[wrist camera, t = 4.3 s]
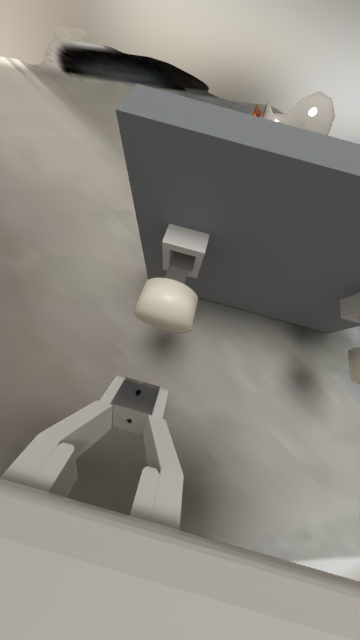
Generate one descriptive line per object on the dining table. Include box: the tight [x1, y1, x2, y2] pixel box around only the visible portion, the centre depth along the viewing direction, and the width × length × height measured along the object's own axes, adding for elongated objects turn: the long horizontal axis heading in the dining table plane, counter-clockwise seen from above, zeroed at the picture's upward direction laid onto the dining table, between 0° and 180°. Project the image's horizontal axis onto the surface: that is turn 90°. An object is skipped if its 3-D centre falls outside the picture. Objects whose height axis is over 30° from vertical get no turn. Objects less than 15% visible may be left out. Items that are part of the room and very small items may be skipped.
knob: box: [134, 266, 198, 333], centre depth 12 cm, size 4×4×4 cm
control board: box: [116, 84, 360, 333], centre depth 15 cm, size 5×27×16 cm, turn 76°
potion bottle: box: [253, 92, 335, 136], centre depth 31 cm, size 9×10×15 cm
